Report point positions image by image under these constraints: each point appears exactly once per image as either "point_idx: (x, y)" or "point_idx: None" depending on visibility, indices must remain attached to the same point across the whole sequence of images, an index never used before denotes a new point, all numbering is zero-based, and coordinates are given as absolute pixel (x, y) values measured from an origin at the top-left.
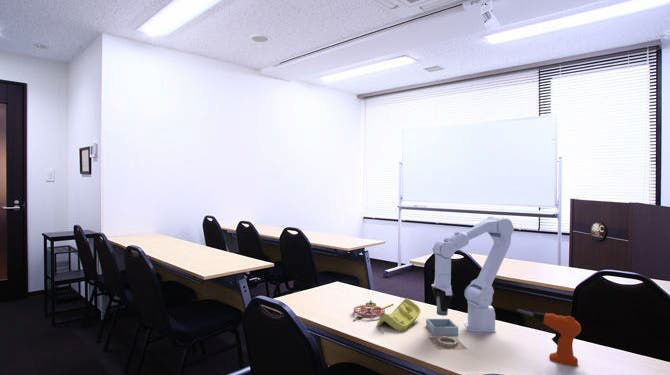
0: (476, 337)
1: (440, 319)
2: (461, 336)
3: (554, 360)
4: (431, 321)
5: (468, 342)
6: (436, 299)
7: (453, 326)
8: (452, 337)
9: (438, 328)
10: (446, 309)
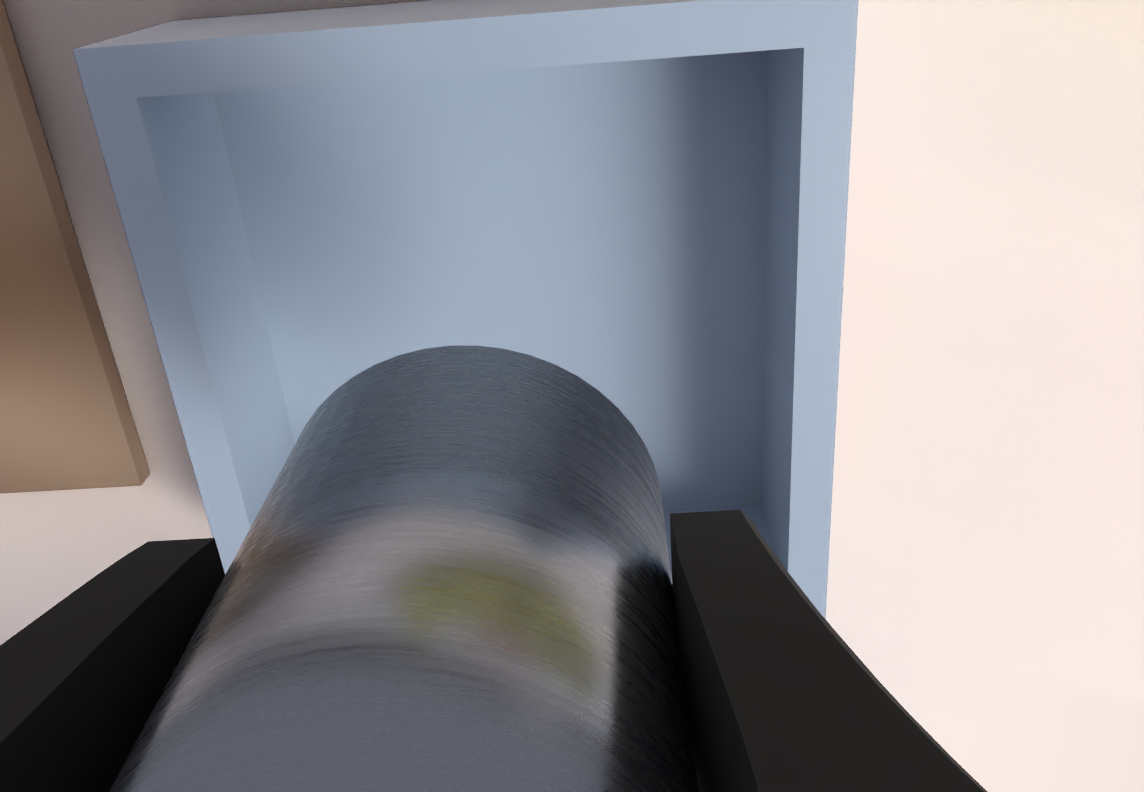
0: None
1: (791, 406)
2: None
3: None
4: (790, 141)
5: (32, 615)
6: (739, 745)
7: None
8: (116, 415)
9: (132, 193)
10: None
